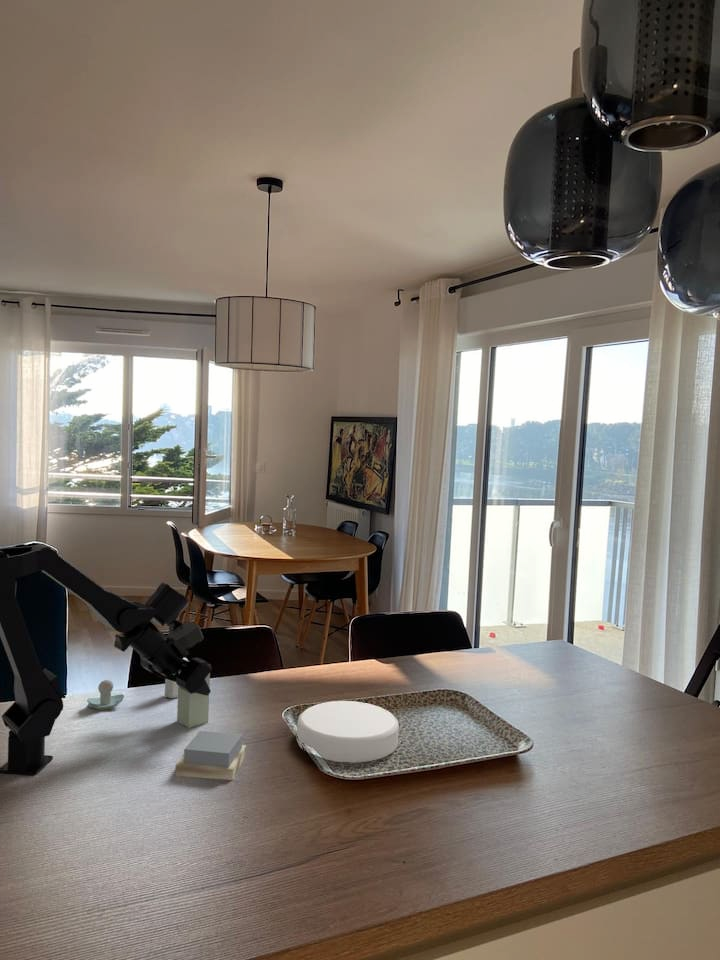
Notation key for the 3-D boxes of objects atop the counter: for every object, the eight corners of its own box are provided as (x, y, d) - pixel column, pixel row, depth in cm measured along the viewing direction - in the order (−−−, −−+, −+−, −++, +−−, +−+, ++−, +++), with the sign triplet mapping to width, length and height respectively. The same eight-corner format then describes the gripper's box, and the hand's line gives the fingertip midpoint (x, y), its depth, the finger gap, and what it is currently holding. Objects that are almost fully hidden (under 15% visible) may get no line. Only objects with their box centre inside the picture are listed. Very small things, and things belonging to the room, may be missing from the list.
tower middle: (228, 767, 124) (229, 753, 124) (183, 763, 125) (184, 749, 125) (241, 747, 132) (242, 734, 132) (199, 743, 133) (199, 730, 132)
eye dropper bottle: (191, 695, 161) (193, 643, 161) (167, 700, 158) (169, 646, 157) (184, 689, 165) (186, 638, 164) (160, 693, 162) (162, 641, 161)
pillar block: (208, 722, 147) (210, 664, 146) (188, 727, 144) (190, 668, 143) (196, 715, 150) (198, 659, 150) (177, 720, 147) (179, 663, 146)
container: (276, 746, 138) (277, 723, 138) (328, 713, 155) (329, 692, 155) (369, 773, 129) (370, 748, 128) (414, 735, 146) (415, 712, 146)
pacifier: (84, 705, 154) (88, 714, 148) (84, 676, 153) (89, 684, 148) (119, 700, 157) (125, 709, 152) (120, 672, 157) (125, 679, 152)
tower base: (232, 783, 123) (233, 769, 123) (175, 779, 124) (175, 765, 124) (245, 758, 133) (246, 745, 133) (192, 754, 134) (192, 741, 134)
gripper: (204, 621, 136) (250, 667, 145) (156, 602, 150) (200, 645, 158) (165, 670, 131) (215, 715, 140) (118, 645, 145) (166, 688, 153)
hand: (199, 688), depth 148 cm, fingers open, 7 cm apart
